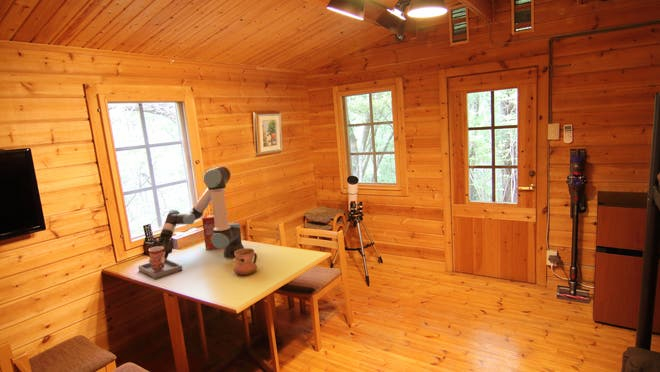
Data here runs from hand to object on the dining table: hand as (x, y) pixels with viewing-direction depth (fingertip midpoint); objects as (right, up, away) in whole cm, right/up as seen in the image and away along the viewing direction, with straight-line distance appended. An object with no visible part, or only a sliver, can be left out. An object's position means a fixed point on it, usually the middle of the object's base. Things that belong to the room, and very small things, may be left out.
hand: (156, 262), depth 259 cm
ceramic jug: (+60, -5, -6) cm, 61 cm away
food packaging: (+25, +2, +47) cm, 53 cm away
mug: (+1, -4, +4) cm, 6 cm away
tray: (+1, -6, +4) cm, 8 cm away
